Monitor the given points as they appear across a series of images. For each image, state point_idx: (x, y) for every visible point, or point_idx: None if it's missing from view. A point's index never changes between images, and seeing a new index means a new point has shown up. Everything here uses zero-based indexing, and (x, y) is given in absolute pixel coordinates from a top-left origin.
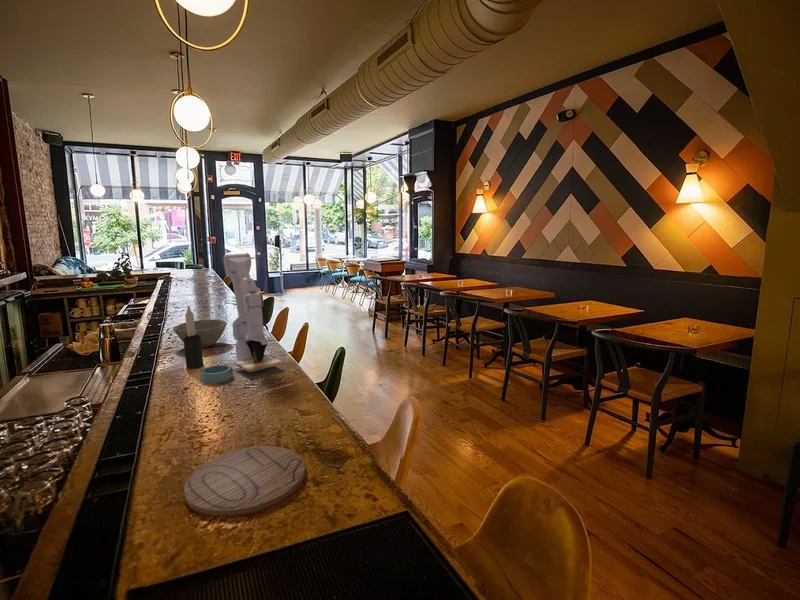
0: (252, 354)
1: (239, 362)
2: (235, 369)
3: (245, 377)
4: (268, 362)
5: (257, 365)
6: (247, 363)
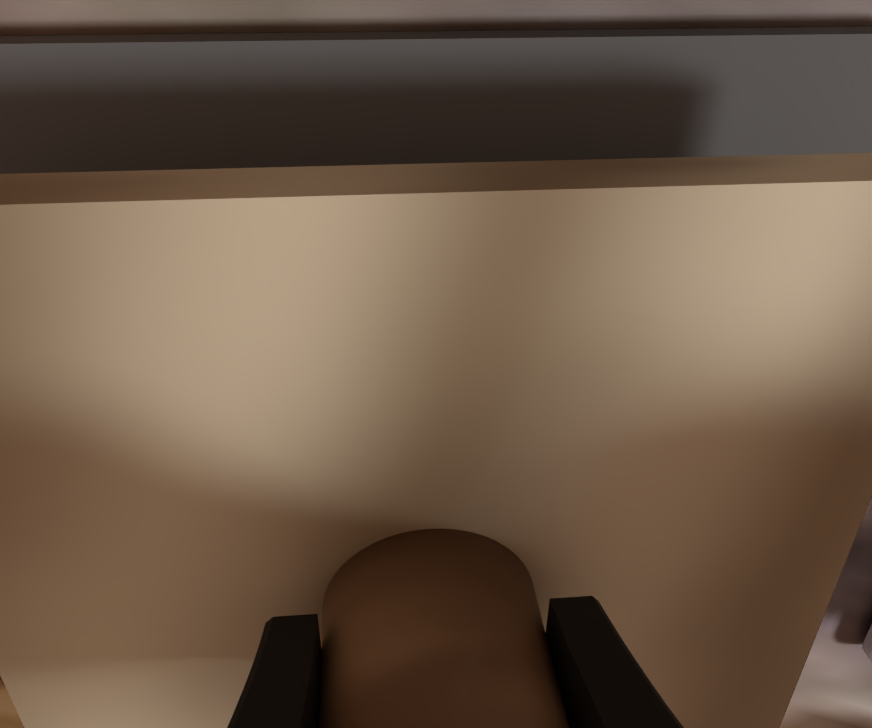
0: (594, 714)
1: (788, 272)
2: (855, 125)
3: (37, 54)
4: (194, 718)
5: (109, 513)
6: (498, 397)
